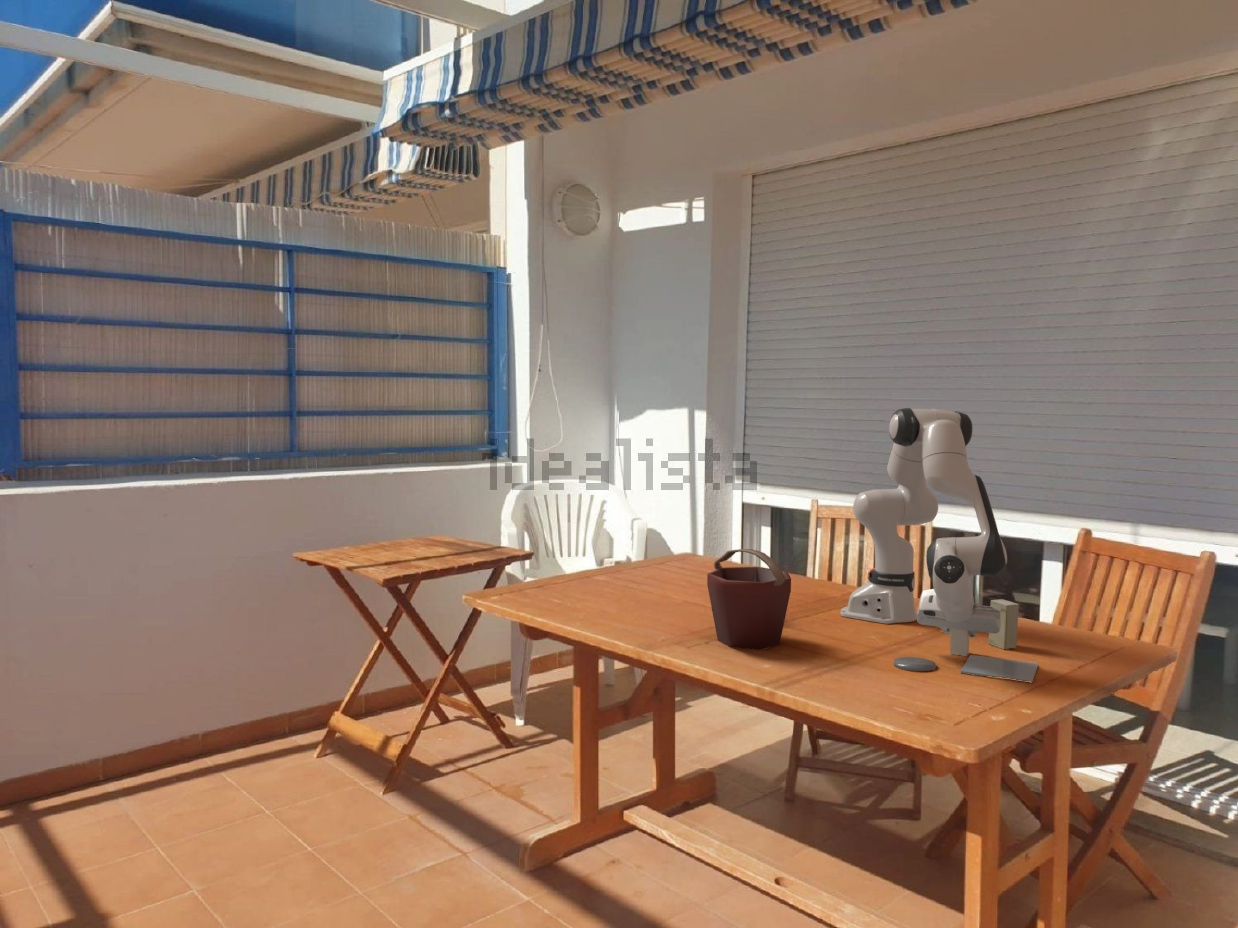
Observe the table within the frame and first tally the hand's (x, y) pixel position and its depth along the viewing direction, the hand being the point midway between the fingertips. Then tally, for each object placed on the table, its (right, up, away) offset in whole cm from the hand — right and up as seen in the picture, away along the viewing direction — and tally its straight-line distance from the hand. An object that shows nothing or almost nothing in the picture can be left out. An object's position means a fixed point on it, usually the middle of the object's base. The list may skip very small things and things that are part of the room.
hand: (960, 633), depth 244 cm
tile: (+4, -6, -14) cm, 16 cm away
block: (0, -5, 0) cm, 5 cm away
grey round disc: (-16, -6, -11) cm, 20 cm away
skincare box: (+14, -5, +7) cm, 16 cm away
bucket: (-53, -4, +12) cm, 55 cm away
